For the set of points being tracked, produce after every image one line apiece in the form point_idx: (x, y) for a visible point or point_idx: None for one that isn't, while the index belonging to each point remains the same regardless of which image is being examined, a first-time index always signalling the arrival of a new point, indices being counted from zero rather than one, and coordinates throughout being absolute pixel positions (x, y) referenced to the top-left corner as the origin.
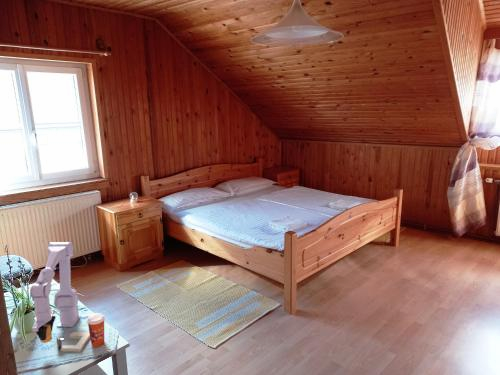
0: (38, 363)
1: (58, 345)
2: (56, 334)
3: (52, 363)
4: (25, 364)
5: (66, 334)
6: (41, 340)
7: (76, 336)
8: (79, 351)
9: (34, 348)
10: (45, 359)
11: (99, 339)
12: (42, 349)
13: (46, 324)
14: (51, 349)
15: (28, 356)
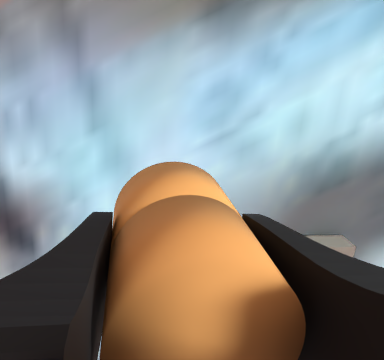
0: (40, 143)
1: None
2: (374, 121)
3: (48, 240)
4: (18, 39)
5: (357, 191)
6: (122, 198)
7: None
8: None
9: (227, 19)
10: (89, 173)
11: None
12: (208, 95)
13: (288, 336)
14: (202, 164)
15: (123, 14)
